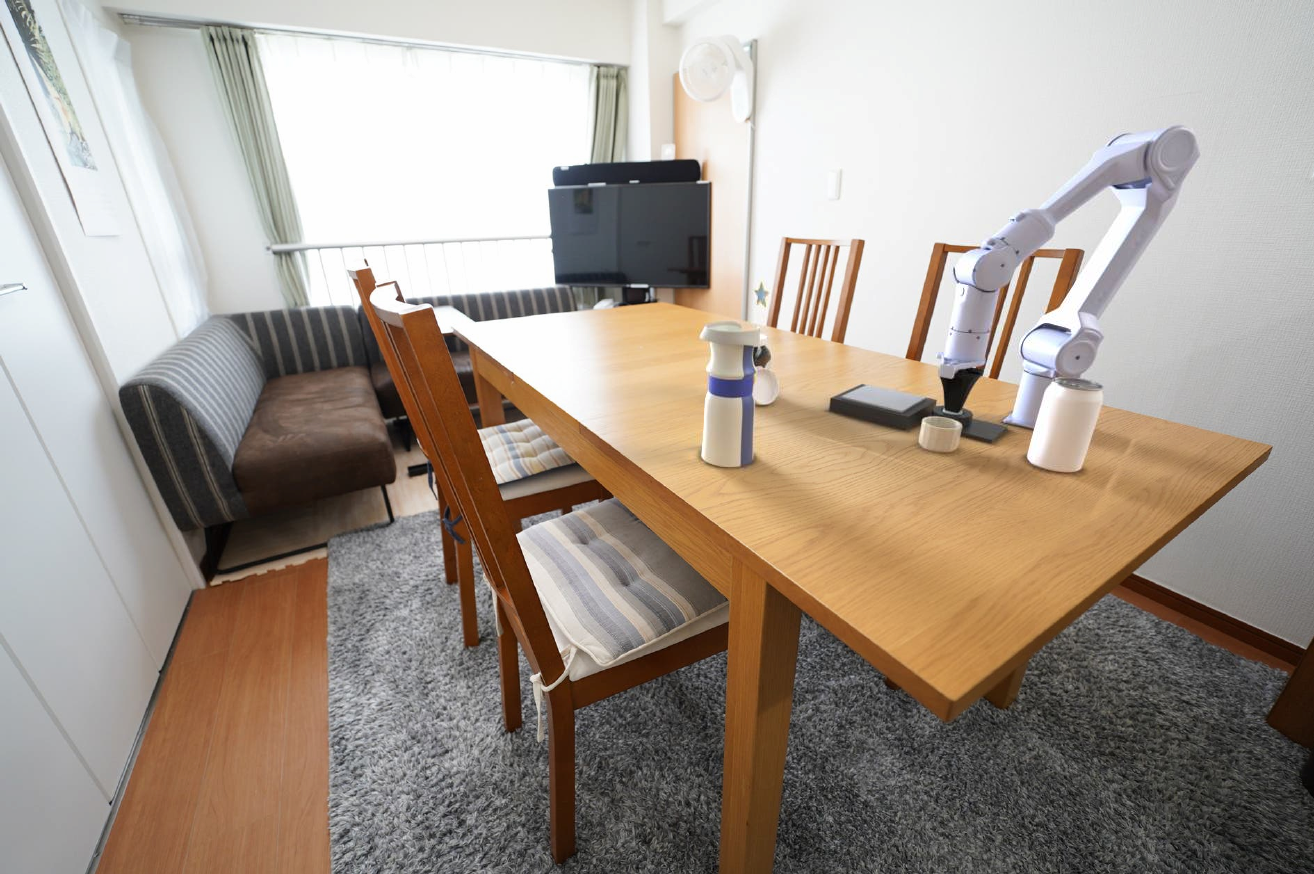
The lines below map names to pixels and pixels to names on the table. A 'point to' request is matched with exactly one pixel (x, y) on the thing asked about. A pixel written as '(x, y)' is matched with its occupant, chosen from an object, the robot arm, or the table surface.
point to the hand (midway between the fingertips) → (952, 411)
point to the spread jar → (764, 375)
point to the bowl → (940, 434)
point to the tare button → (952, 412)
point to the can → (1065, 424)
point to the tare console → (973, 425)
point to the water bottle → (730, 392)
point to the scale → (883, 406)
